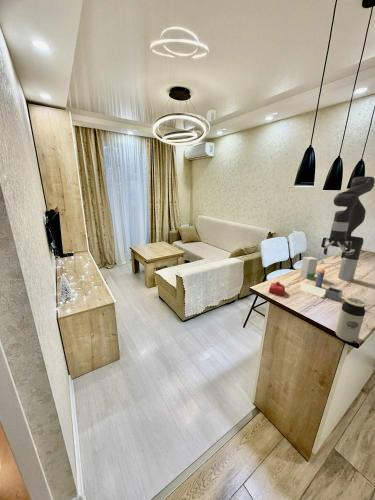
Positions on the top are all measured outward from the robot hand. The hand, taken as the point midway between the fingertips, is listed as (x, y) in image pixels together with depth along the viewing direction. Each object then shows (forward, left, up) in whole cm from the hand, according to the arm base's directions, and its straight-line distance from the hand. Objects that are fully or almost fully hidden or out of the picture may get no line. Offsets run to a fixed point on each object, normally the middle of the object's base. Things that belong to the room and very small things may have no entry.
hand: (333, 256), depth 125 cm
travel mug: (+37, +19, -26) cm, 49 cm away
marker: (-10, -7, -26) cm, 29 cm away
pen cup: (-1, +4, -26) cm, 26 cm away
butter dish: (+22, -21, -27) cm, 40 cm away
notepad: (-1, -8, -26) cm, 27 cm away
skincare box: (-23, -19, -26) cm, 40 cm away
